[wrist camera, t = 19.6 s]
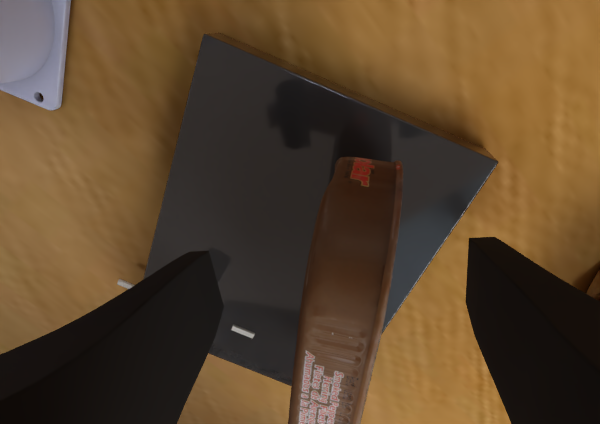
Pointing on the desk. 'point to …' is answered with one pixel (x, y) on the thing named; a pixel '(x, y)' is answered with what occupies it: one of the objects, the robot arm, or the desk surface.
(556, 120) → the desk surface
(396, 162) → the tin
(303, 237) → the stove
